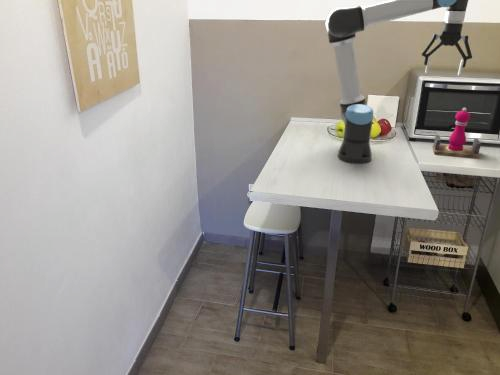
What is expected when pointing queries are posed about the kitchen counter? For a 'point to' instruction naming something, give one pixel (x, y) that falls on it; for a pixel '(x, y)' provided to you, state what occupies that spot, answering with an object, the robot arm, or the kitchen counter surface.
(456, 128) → the pepper mill
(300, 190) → the kitchen counter surface
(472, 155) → the level stand
